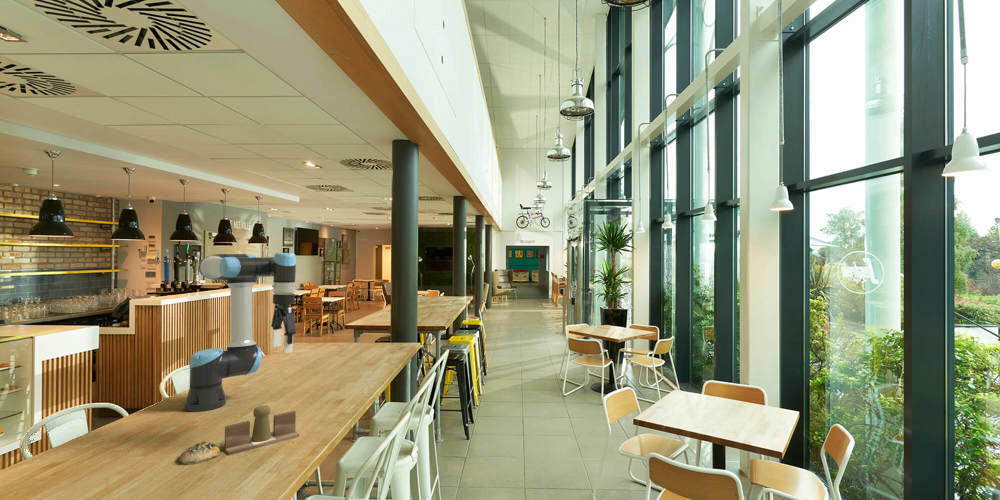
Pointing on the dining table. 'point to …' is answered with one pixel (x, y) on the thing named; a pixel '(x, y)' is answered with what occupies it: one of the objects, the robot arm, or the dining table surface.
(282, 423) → the notched board
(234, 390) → the dining table surface
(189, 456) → the bread roll
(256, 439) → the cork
